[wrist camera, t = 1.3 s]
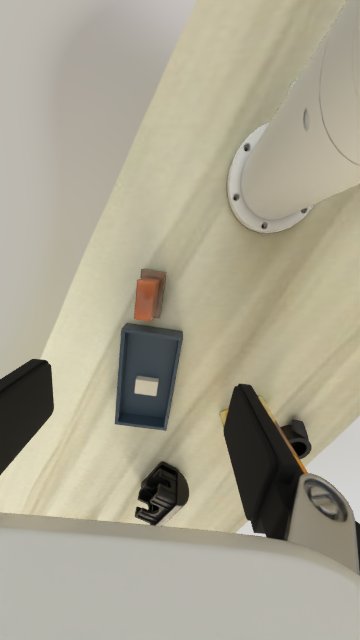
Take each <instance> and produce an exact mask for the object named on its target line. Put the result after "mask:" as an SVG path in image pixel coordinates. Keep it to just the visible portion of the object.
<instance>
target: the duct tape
mask: <svg viewBox="0 0 360 640" xmlns="http://www.w3.org/2000/svg"><path fill="white" fill-rule="evenodd" d="M281 430H282V431H283V433H284V435H285V436H286V438H287V440H288V441H289V443H290V444H291V446H292V448H293V449H294V451H295V453H296V454H297V456H298V457H299V459H302V458H304V457H306V456H307V455H308V454H309V453H310V451H311V444H310V442H309V440H308V435H307V432H306V429H305V426H304V423H303V422H302V421H298V420H292V425H287V426H284V427H281Z"/></svg>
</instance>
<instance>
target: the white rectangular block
mask: <svg viewBox="0 0 360 640" xmlns="http://www.w3.org/2000/svg"><path fill="white" fill-rule="evenodd" d="M158 381H159V379H158V378H151V377H144V376H137V378H136V383H135V392H134V393H136V394H144V395H151V396H156V394H157V388H158Z"/></svg>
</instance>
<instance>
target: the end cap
mask: <svg viewBox="0 0 360 640" xmlns="http://www.w3.org/2000/svg"><path fill="white" fill-rule="evenodd" d="M141 487H142V488H141V489H140V491H139V496H138V500H139V501H141V502H143V503H146V504H147V505H148V507H149V509H148V510H147V509H144V508H140V507H136V512H135V517H136V518H138V519H141V520H143V521H145V522H148V523H150V525H154V526H163V525H164V524H165V523H166V522H167V521H168V520H169V519H170V518H171V517H172V516H173V515H174V514H176V513H177V512H178V511H179V510H180V509H181V508H182V507H183V506H184V505H185V504H186V503H187V501H188V498H189V488H188V484H187V481H186V479H185V478H184V476H183V475H182V474H181V473H180V472H179V470H177V469H176V468H174V467H172V466H170V465H168V464H166V463H164V462H161V463H160V464H159V465H158V466H157V467H156V468H155V469H154V470H153V471H152V472H151V473H150V475H149V476H148V477H147V478H146V479H145V480H144V481H143V482H142V484H141Z"/></svg>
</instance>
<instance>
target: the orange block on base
mask: <svg viewBox="0 0 360 640" xmlns="http://www.w3.org/2000/svg"><path fill="white" fill-rule="evenodd" d="M165 278H166V272H161V271H155V270H149V269H141V279H138V280H137V291H136V302H135V313H134V319H138V320H144V321H151V320H152V318H160V315H161V308H162V300H163V293H164V285H165Z"/></svg>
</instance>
